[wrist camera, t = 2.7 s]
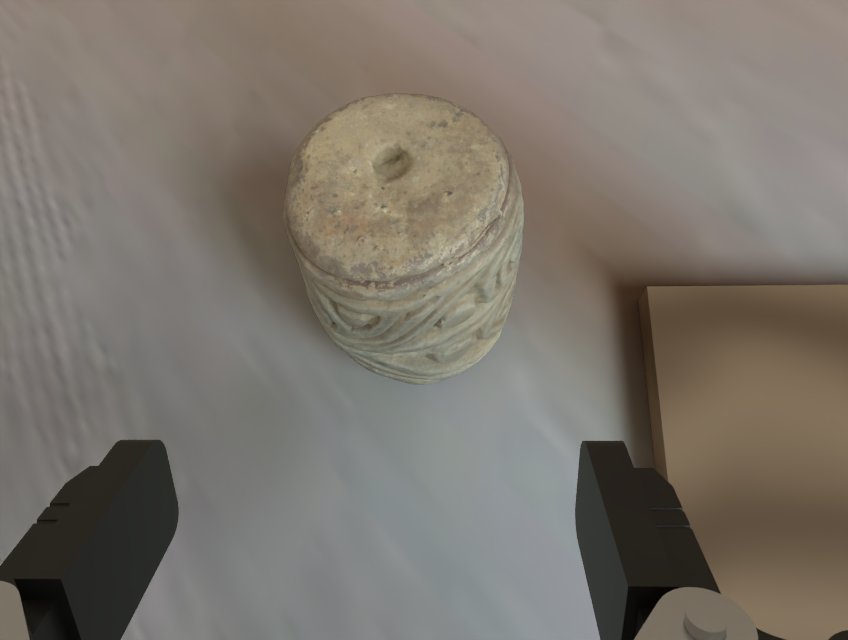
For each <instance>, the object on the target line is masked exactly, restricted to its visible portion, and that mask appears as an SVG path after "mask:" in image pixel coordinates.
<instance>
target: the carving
mask: <svg viewBox="0 0 848 640" xmlns="http://www.w3.org/2000/svg"><path fill="white" fill-rule="evenodd" d="M283 218H284V224H285V229H286V232H287V236H288V239H289V241H290V244H291V246H292V248H293V251H294V254H295V257H296V260H297V262H298V264H299V266H300V269H301V274H302V277H303V280H304V282H305V285H306V292H307V295H308V298H309V300H310V302H311V305H312V307H313V309H314V311H315V313H316V315H317V317H318V319H319V321H320V323H321V325H322V326H323V328H324V330H325V331H326V332H327V334H328V335H329V336H330V338H331V339H332V340H333V341H334V342H335V343H336V344H337V345H338V346H339V347H340V348H341V349H343V350H344V351H345V352H346V353H347V354H348V355H349V356H350V357H352V358H353V359H354V360H355V361H356V362H357V363H359V364H360V365H361V366H363V367H364V368H366V369H368V370H370V371H372V372H374V373H376V374H379V375H383V376H386V377H389V378H392V379H395V380H398V381H402V382H406V383H410V384H419V385H422V384H429V383H434V382H438V381H441V380H444V379H447V378H450V377H452V376H454V375H457V374H459V373H462V372H463V371H465V370H467V369H468V368H470V367H471V366H473V365H474V364H476V363H477V362H478V361H479V360H481V359H482V358H483V357H484V356H485V355H486V354H487V353H488V351H489V350H490V349H491V348H492V346H493V345H494V344H495V342H496V341H497V339H498V337H499V336H500V334H501V331H502V329H503V326H504V323H505V321H506V319H507V316H508V313H509V310H510V307H511V304H512V300H513V295H514V290H515V286H516V280H517V278H516V275H517V270H518V267H519V259H520V255H521V249H522V229H523V221H524V212H523V198H522V195H521V184H520V181H519V178H518V175H517V172H516V170H515V165H514V162H513V159H512V156H511V154H510V152H509V151H508V149H507V148H506V146H505V145H504V143H503V142H502V140H501V139H500V138H499V137H498V136H497V135H496V134H495V133H494V132H493V131H492V130H491V129H490V128H489V127H488V126H487V124H486V123H485V122H484V121H483V120H482V119H481V118H479V117H478V116H477V115H475V114H474V113H473V112H471V111H469V110H467V109H466V108H464V107H462V106H460V105H458V104H455V103H452V102H450V101H447V100H444V99H441V98H438V97H433V96H428V95H420V94H406V93H392V94H383V95H376V96H370V97H364V98H360V99H358V100H355V101H353V102H351V103H349V104H347V105H345V106H343V107H341V108H339V109H338V110H336V111H334V112H333V113H331V114H330V115H328V116H327V117H325V118H324V119H323V120H321V121H320V122H319V123H318V124H317V125H316V126H315V127H314V128H313V129H312V130H311V131H310V132H309V133H308V135H307V136H306V137H305V139H304V140H303V141H302V142H301V144H300V145H299V147H298V148H297V150H296V152H295V153H294V156H293V159H292V162H291V165H290V170H289V178H288V184H287V189H286V192H285V200H284V207H283Z"/></svg>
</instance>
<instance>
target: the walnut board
mask: <svg viewBox="0 0 848 640" xmlns="http://www.w3.org/2000/svg"><path fill="white" fill-rule="evenodd" d="M638 305H639V315H640V325H641V334H642V344H643V354H644V363H645V373H646V383H647V392H648V402H649V412H650V422H651V431H652V441H653V451H654V460H655V470H656V471H657V472H658V473H659V474H660V475H661V476H662V477H663V478H665V479H666V480H667V481H668V482H669V483H670V484H671V485H672V486H673V487H674V490H675V492H676V494H677V496H678V499H679V501H680V503H681V505H682V510H683V511H684V512H685V514H686V516H687V519H688V521H689V523H690V529H692V530H693V532H694V534H695V537H696V539H697V541H698V543H699V545H700V548H701V550H702V552H703V554H704V557H705V559H706V561H707V563H708V566H709V568H710V570H711V572H712V574H713V577H714V579H715V581H716V583H717V586H718V588H719V590H720V592H721V594H722V595H724V596H725V597H727V598H729V599H731V600H732V601H734V602H735V603H736V604H738V605H739V606H740V607H741V608H742V609H743V610H744V611H745V612H746V613H747V614H748V615H749V616H750V618H751V620H752V621H753V623H754V625H755V627H756V628H758V629H759V630H761V631H763V632H766V633H768V634H770V635H773V636H776V637H779V638H782V639H786V640H829V638H830V637H831V636H833V635H834V634H836V633H838V632H841V631H845V630H848V285H752V286H647V287H646V289H645V290H644V292H643V293H642V295H641V297H640V298H639V300H638Z"/></svg>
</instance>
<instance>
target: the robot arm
mask: <svg viewBox="0 0 848 640" xmlns="http://www.w3.org/2000/svg"><path fill="white" fill-rule="evenodd" d="M575 519H576V532H577V539H578V543H579V548H580V552H581V556H582V561H583V565H584V570H585V574H586V578H587V583H588V587H589V591H590V596H591V600H592V604H593V609H594V613H595V617H596V622H597V626H598V631H599V635H600V639H601V640H786V639H782V638H779V637H776V636H773V635H770V634H768V633H766V632H763V631H761V630H759V629H758V628H756V627H755V625H754V623H753V621H752V620H751V618H750V616H749V615H748V614H747V613H746V612H745V611H744V610H743V609H742V608H741V607H740V606H739V605H738V604H736V603H735V602H734V601H732V600H731V599H729V598H727V597H725V596H724V595H722V594H721V592H720V590H719V588H718V586H717V583H716V581H715V579H714V577H713V574H712V572H711V570H710V568H709V566H708V563H707V561H706V559H705V557H704V554H703V552H702V550H701V548H700V545H699V543H698V541H697V539H696V537H695V534H694V532H693V530H692V529H690V523H689V521H688V519H687V516H686V514H685V512H684V511H683V510H682V505H681V503H680V501H679V499H678V496H677V494H676V492H675V490H674V487H673V486H672V485H671V484H670V483H669V482H668V481H667V480H666V479H665V478H663V477H662V476H661V475H660V474H659V473H658V472H657V471H656V470H655V469H654V468H634V467H633V464H632V461H631V459H630V456H629V453H628V451H627V448H626V446H625V444H624V442H623V441H583V442H582V444H581V448H580V458H579V470H578V482H577V494H576V507H575ZM177 523H178V501H177V497H176V492H175V488H174V483H173V479H172V474H171V470H170V465H169V461H168V456H167V452H166V448H165V446H164V444H163V442H162V441H160V440H120V441H118V442H117V443H116V444H115V445H114V446H113V447H112V449H111V450H110V451H109V453H108V454H107V455H106V457H105V458H104V459H103V461H102V462H101V463H100V465H99V466H89V467H88V468H87V469H85V470H84V471H82V472H81V473H80V474H78V475H77V476H75V477H74V478H73V479H71V480H70V481H68V482H67V483H66V484H65V485H64V486H63V487H62V489H61V490H60V491H59V493H58V494H57V495H56V496H55V498H54V499H53V500H52V501H51V503H50V507H47V508H46V509H45V510H44V511H43V513H42V514H41V515H40V517H39V518H38V519H37V524H33V525H32V527H31V528H30V529H29V530H28V532H27V533H26V534H25V535H24V537H23V538H22V539H21V541H20V542H19V543H18V544H17V546H16V547H15V548H14V549H13V551H12V552H11V553H10V554H9V556H8V557H7V558H6V559H5V561H4V562H3V563H2V565H1V566H0V640H121V638H122V636H123V634H124V632H125V630H126V628H127V626H128V624H129V622H130V620H131V618H132V616H133V614H134V612H135V610H136V609H137V607H138V605H139V603H140V601H141V599H142V597H143V595H144V593H145V591H146V589H147V587H148V585H149V583H150V581H151V579H152V577H153V576H154V574H155V572H156V570H157V568H158V566H159V564H160V562H161V560H162V558H163V556H164V554H165V552H166V550H167V548H168V546H169V544H170V543H171V541H172V539H173V537H174V534H175V531H176V528H177ZM829 640H848V630H845V631H841V632H838V633H836V634H834V635H833V636H831V637H830V638H829Z"/></svg>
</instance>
